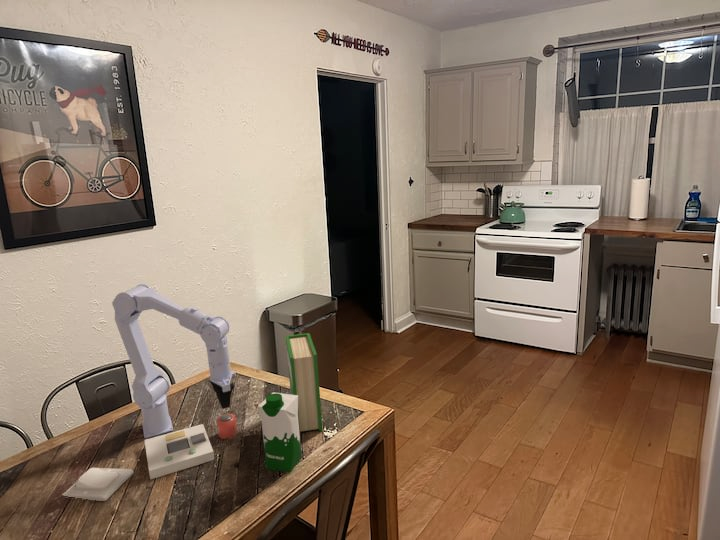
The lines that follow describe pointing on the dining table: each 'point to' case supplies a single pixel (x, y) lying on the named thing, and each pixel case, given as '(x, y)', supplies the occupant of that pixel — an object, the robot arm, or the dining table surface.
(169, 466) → the panel
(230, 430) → the cap
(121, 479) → the light switch
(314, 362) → the hardback book
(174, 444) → the button
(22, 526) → the dining table surface
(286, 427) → the milk carton
